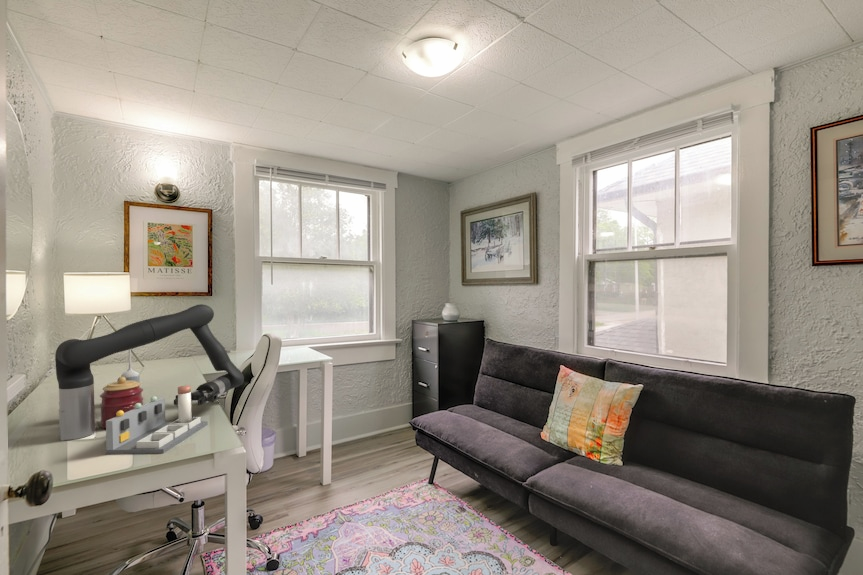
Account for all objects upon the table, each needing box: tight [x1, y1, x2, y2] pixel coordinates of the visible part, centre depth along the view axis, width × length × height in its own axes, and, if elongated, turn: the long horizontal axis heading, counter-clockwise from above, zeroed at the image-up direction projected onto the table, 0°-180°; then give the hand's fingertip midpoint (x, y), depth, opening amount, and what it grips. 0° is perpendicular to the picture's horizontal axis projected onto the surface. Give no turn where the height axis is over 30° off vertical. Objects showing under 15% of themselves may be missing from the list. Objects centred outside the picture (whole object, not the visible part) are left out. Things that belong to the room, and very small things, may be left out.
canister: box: [99, 376, 144, 429], centre depth 154 cm, size 13×13×18 cm
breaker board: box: [104, 395, 209, 455], centre depth 139 cm, size 25×18×12 cm
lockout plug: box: [177, 385, 193, 423], centre depth 147 cm, size 4×4×14 cm
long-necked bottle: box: [120, 349, 141, 388], centre depth 179 cm, size 8×8×25 cm
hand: (186, 402), depth 149 cm, fingers open, 8 cm apart
